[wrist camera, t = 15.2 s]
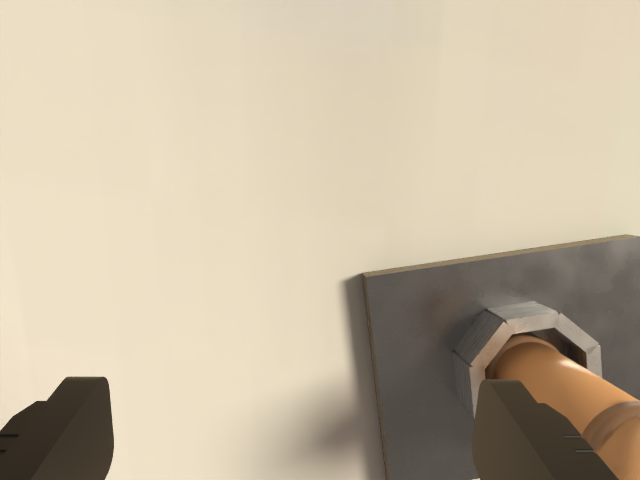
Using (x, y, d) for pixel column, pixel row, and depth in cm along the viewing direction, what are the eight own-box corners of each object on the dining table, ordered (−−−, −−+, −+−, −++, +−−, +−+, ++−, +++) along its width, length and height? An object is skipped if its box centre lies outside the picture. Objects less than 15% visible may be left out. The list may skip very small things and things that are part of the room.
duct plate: (361, 273, 36) (375, 285, 32) (626, 234, 38) (673, 241, 34) (386, 482, 38) (402, 521, 34) (637, 436, 40) (683, 468, 36)
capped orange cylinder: (475, 335, 36) (585, 418, 23) (549, 325, 37) (697, 402, 24) (481, 408, 37) (590, 528, 24) (553, 398, 37) (699, 511, 24)
